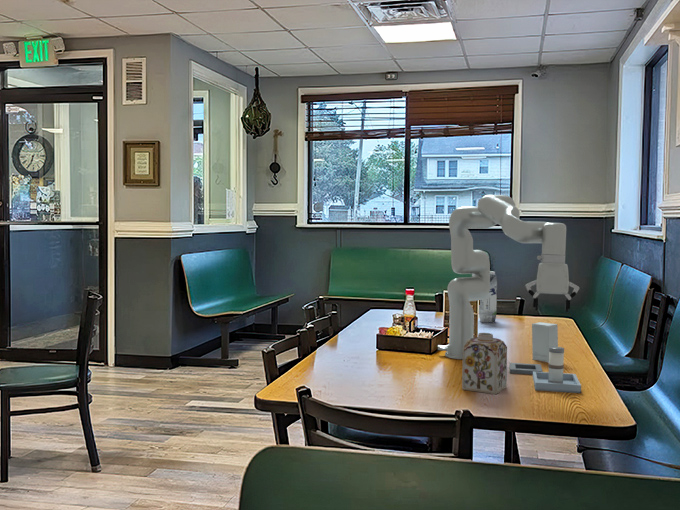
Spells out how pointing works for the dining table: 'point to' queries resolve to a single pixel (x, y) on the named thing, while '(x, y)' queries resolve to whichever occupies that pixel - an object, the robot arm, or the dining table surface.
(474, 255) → the robot arm
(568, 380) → the tray
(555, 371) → the cylinder
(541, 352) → the skincare box
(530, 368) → the socket
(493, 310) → the juice carton
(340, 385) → the dining table surface
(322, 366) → the dining table surface
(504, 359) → the decorative jar
